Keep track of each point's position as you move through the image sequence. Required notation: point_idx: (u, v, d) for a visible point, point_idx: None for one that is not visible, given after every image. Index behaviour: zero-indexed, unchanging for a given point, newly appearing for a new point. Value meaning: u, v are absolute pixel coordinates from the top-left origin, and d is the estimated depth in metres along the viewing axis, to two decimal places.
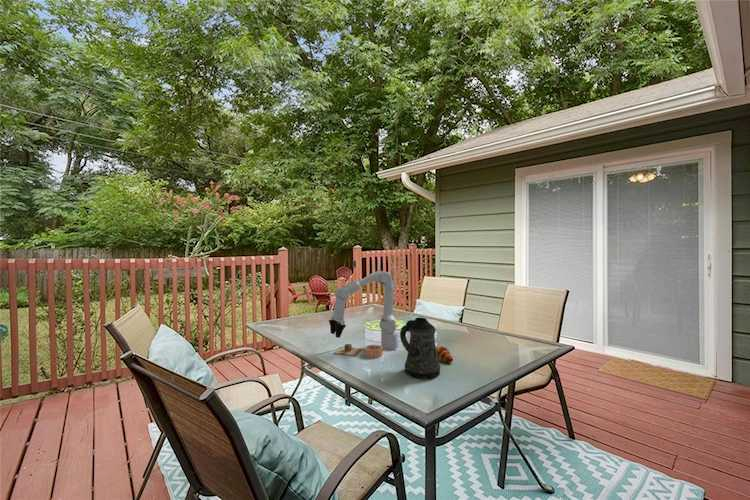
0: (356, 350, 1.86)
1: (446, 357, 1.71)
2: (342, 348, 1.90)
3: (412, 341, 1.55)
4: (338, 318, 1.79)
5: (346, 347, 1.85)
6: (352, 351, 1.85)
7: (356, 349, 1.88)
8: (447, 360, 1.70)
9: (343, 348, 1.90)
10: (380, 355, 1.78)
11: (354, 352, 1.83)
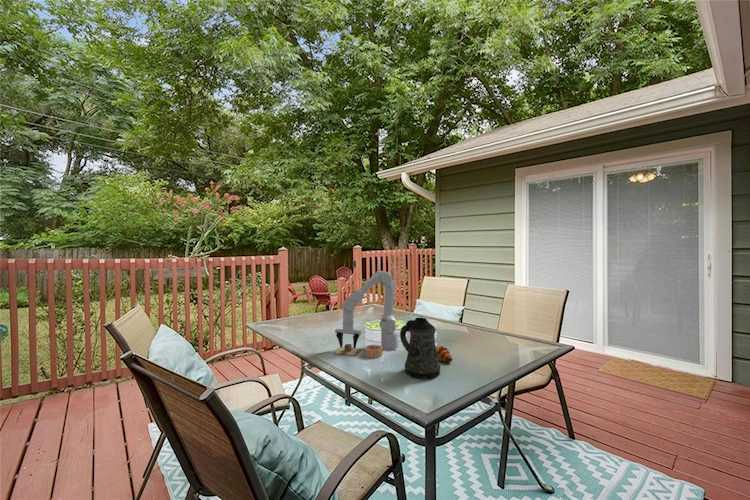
0: (356, 350, 1.86)
1: (445, 357, 1.71)
2: (342, 348, 1.90)
3: (412, 341, 1.55)
4: (352, 330, 1.84)
5: (346, 347, 1.85)
6: (352, 351, 1.85)
7: (356, 349, 1.88)
8: (446, 360, 1.70)
9: (343, 348, 1.90)
10: (380, 355, 1.78)
11: (354, 352, 1.83)
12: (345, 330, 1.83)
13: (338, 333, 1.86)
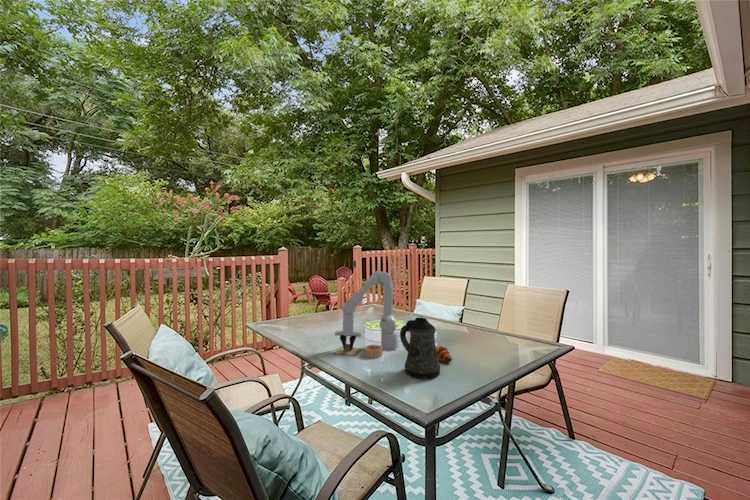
0: (356, 350, 1.86)
1: (445, 357, 1.71)
2: (342, 348, 1.90)
3: (412, 341, 1.55)
4: (352, 332, 1.85)
5: (346, 347, 1.85)
6: (352, 351, 1.85)
7: (356, 349, 1.88)
8: (446, 360, 1.70)
9: (343, 348, 1.90)
10: (380, 355, 1.78)
11: (354, 352, 1.83)
12: (345, 332, 1.83)
13: None
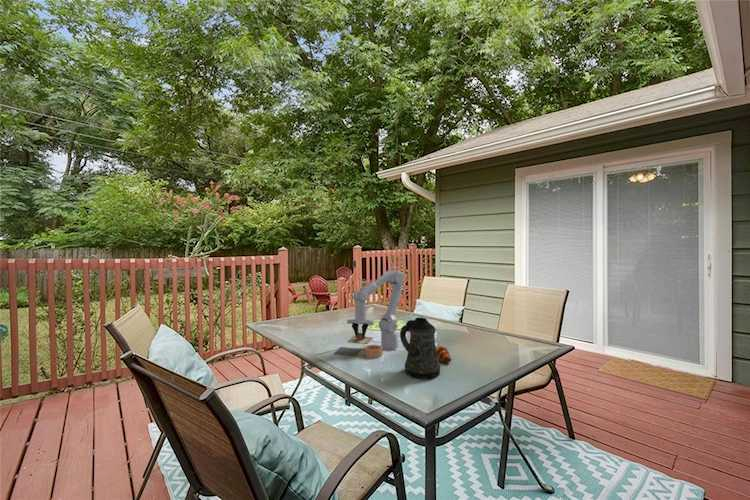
0: (368, 339, 1.84)
1: (444, 357, 1.71)
2: (354, 337, 1.87)
3: (412, 341, 1.55)
4: (364, 320, 1.82)
5: (358, 335, 1.82)
6: (364, 340, 1.82)
7: (368, 338, 1.85)
8: (445, 360, 1.70)
9: (355, 337, 1.87)
10: (380, 355, 1.78)
11: (366, 341, 1.80)
12: (357, 320, 1.81)
13: (350, 323, 1.84)
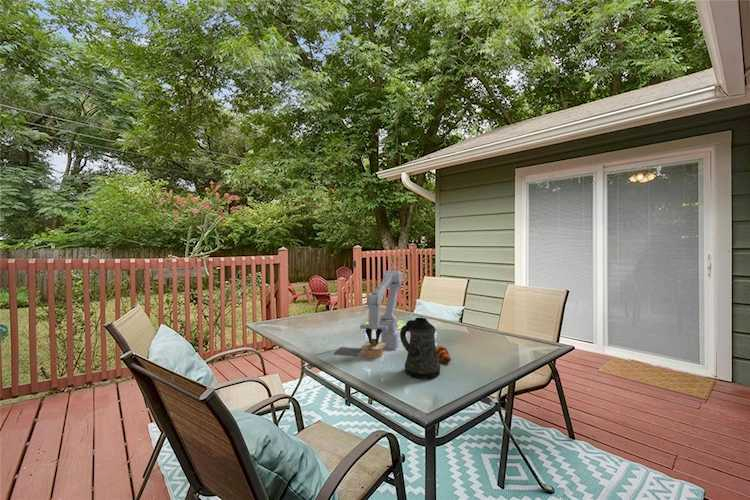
0: (382, 345, 1.81)
1: (444, 357, 1.71)
2: (367, 343, 1.84)
3: (412, 341, 1.55)
4: (378, 325, 1.79)
5: (372, 341, 1.79)
6: (378, 346, 1.79)
7: (382, 344, 1.82)
8: (445, 360, 1.70)
9: (368, 343, 1.84)
10: (380, 355, 1.78)
11: (381, 347, 1.77)
12: (371, 325, 1.78)
13: None
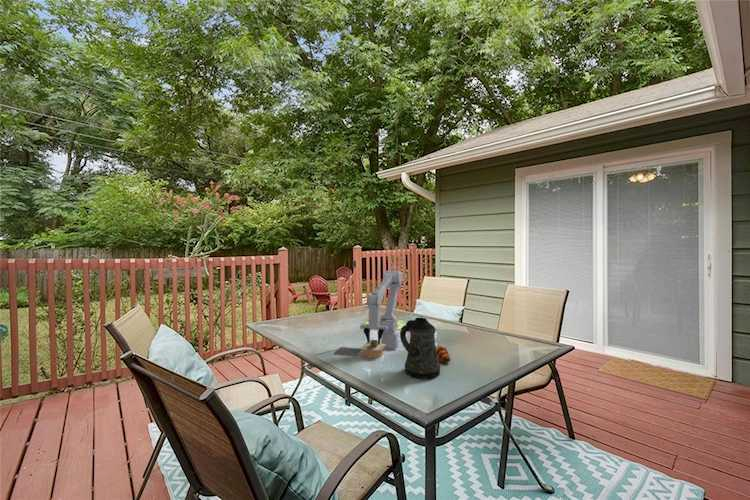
0: (382, 346, 1.81)
1: (443, 357, 1.71)
2: (367, 344, 1.84)
3: (412, 341, 1.55)
4: (378, 325, 1.79)
5: (372, 342, 1.79)
6: (378, 347, 1.79)
7: (382, 345, 1.82)
8: (444, 360, 1.70)
9: (368, 344, 1.84)
10: (380, 355, 1.78)
11: (381, 348, 1.77)
12: (371, 325, 1.78)
13: None
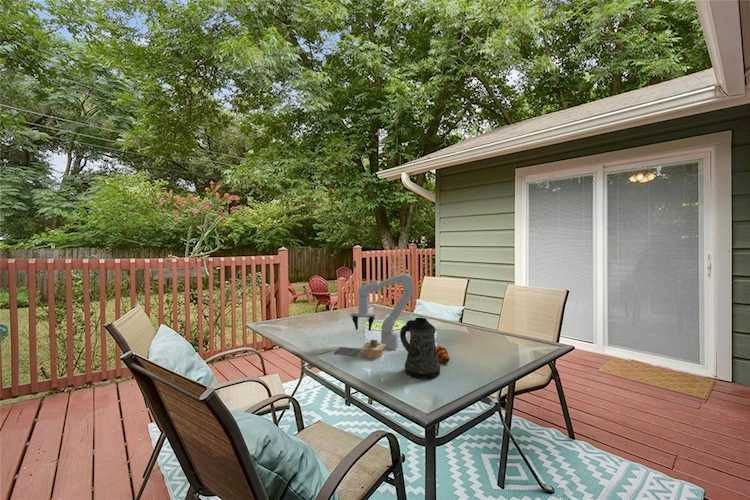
0: (382, 346, 1.81)
1: (442, 357, 1.71)
2: (367, 344, 1.84)
3: (412, 341, 1.55)
4: (367, 313, 1.95)
5: (372, 342, 1.79)
6: (378, 347, 1.79)
7: (382, 345, 1.82)
8: (443, 360, 1.70)
9: (368, 344, 1.84)
10: (380, 355, 1.78)
11: (381, 348, 1.77)
12: (361, 313, 1.94)
13: (354, 317, 1.97)
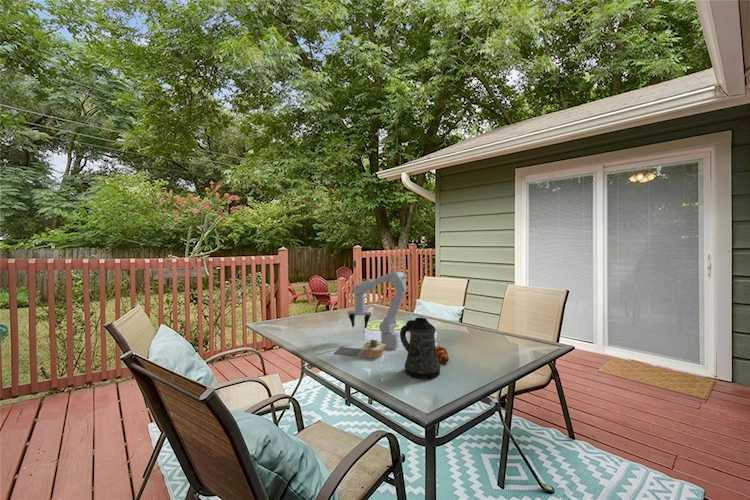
0: (382, 346, 1.81)
1: (442, 357, 1.71)
2: (367, 344, 1.84)
3: (412, 341, 1.55)
4: (363, 311, 2.02)
5: (372, 342, 1.79)
6: (378, 347, 1.79)
7: (382, 345, 1.82)
8: (443, 360, 1.70)
9: (368, 344, 1.84)
10: (380, 355, 1.78)
11: (381, 348, 1.77)
12: (357, 311, 2.00)
13: (350, 314, 2.04)
